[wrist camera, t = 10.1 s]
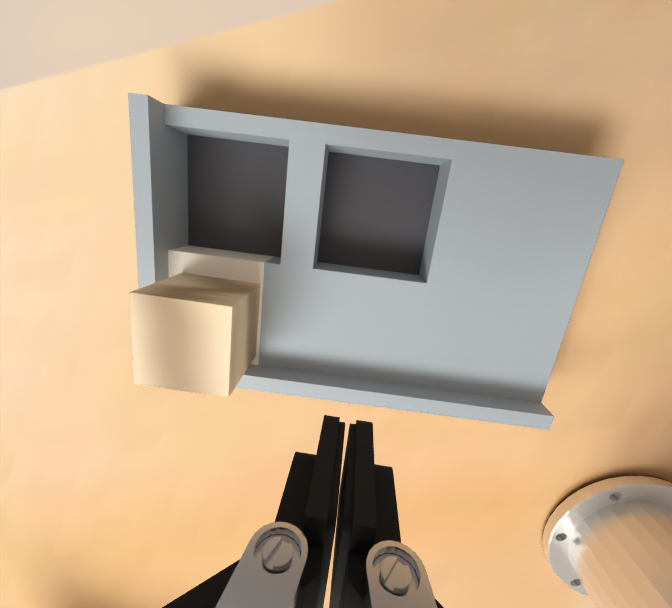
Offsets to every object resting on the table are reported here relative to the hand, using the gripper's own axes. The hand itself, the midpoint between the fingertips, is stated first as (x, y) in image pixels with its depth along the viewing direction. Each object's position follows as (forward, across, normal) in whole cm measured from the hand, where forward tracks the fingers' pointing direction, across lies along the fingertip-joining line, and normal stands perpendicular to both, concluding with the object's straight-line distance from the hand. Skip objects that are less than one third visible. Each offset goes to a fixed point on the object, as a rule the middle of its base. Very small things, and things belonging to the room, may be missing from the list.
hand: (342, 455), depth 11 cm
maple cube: (+10, +9, -1) cm, 13 cm away
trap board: (+13, 0, -4) cm, 14 cm away
